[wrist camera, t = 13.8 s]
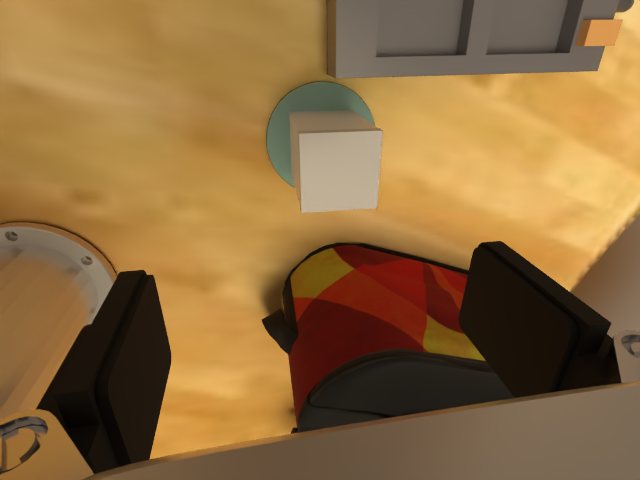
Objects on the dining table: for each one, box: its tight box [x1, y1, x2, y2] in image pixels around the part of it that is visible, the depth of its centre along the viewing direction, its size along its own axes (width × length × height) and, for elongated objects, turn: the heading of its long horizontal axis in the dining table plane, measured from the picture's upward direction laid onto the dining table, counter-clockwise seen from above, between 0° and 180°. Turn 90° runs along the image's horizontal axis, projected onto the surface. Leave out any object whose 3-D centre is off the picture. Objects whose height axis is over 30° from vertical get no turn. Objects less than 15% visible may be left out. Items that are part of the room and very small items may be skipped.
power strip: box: [327, 0, 634, 78], centre depth 26 cm, size 24×9×4 cm, turn 91°
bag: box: [262, 243, 515, 433], centre depth 34 cm, size 30×14×16 cm, turn 70°
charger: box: [289, 110, 383, 213], centre depth 27 cm, size 5×5×8 cm
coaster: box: [267, 82, 375, 187], centre depth 31 cm, size 9×9×1 cm
